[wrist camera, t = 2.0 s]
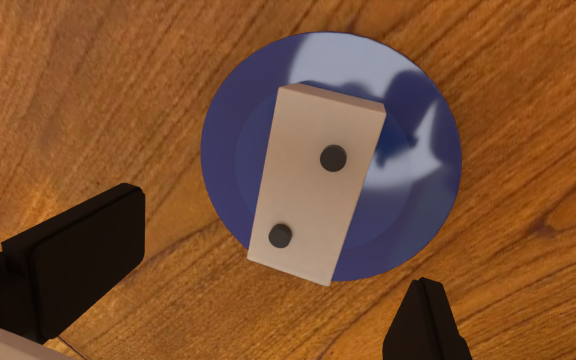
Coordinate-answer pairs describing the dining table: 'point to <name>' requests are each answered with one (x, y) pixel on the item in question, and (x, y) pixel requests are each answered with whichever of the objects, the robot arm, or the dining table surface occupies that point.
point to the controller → (312, 179)
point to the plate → (386, 159)
